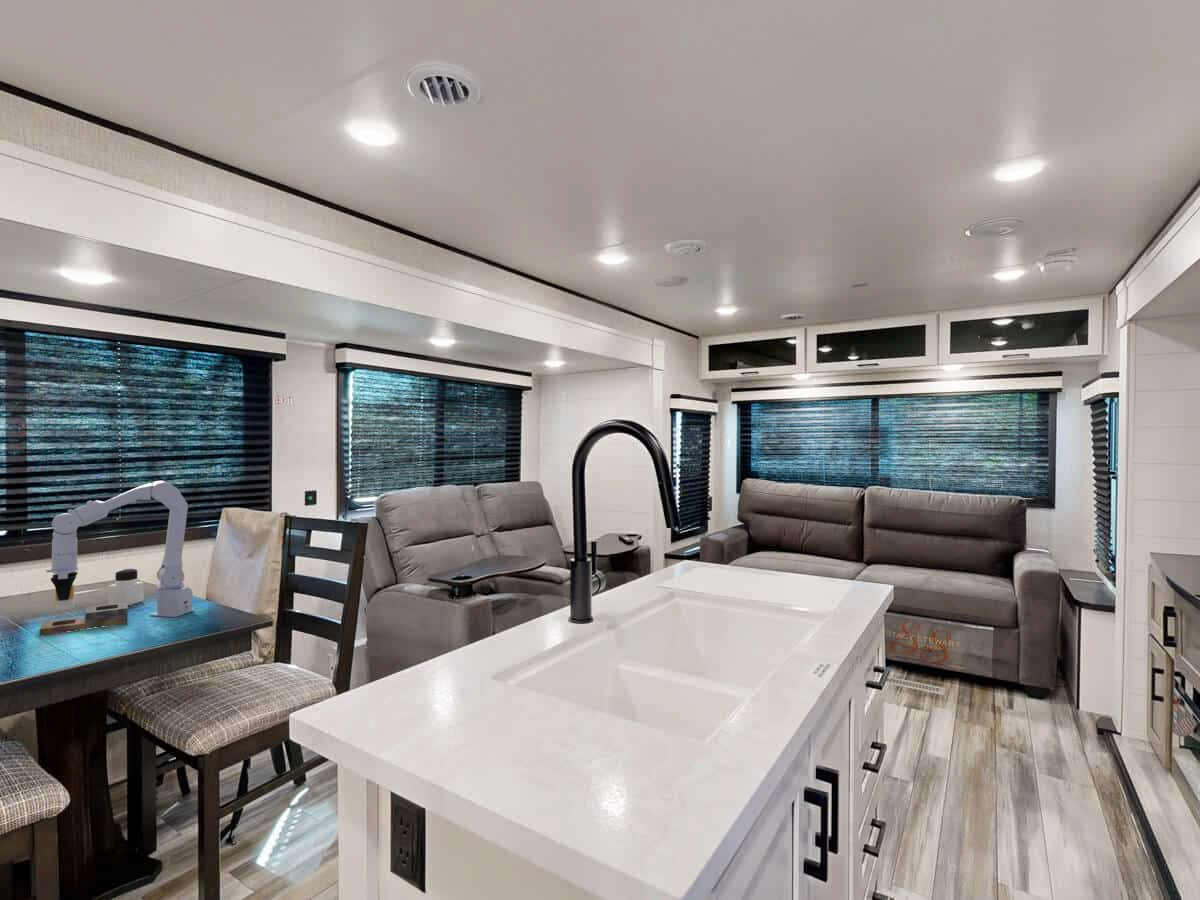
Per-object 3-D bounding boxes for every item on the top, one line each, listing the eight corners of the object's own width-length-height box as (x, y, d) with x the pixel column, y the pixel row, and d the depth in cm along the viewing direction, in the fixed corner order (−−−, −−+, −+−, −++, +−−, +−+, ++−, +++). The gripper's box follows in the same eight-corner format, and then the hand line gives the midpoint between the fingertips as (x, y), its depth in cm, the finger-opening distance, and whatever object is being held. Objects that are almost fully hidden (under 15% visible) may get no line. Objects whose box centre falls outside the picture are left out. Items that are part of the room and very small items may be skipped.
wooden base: (127, 617, 193) (127, 601, 193) (127, 624, 186) (127, 608, 186) (42, 628, 180) (42, 611, 180) (39, 636, 173) (39, 618, 173)
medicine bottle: (144, 601, 212) (144, 568, 212) (126, 607, 205) (126, 572, 205) (125, 600, 213) (126, 567, 212) (107, 606, 205) (107, 571, 205)
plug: (73, 605, 183) (74, 584, 183) (73, 608, 180) (73, 587, 180) (56, 607, 180) (56, 586, 180) (55, 610, 177) (55, 588, 177)
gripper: (48, 551, 183) (48, 595, 183) (44, 558, 172) (43, 605, 172) (79, 549, 187) (78, 592, 187) (76, 556, 176) (76, 602, 176)
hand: (64, 598), depth 180 cm, fingers closed on plug, 4 cm apart
